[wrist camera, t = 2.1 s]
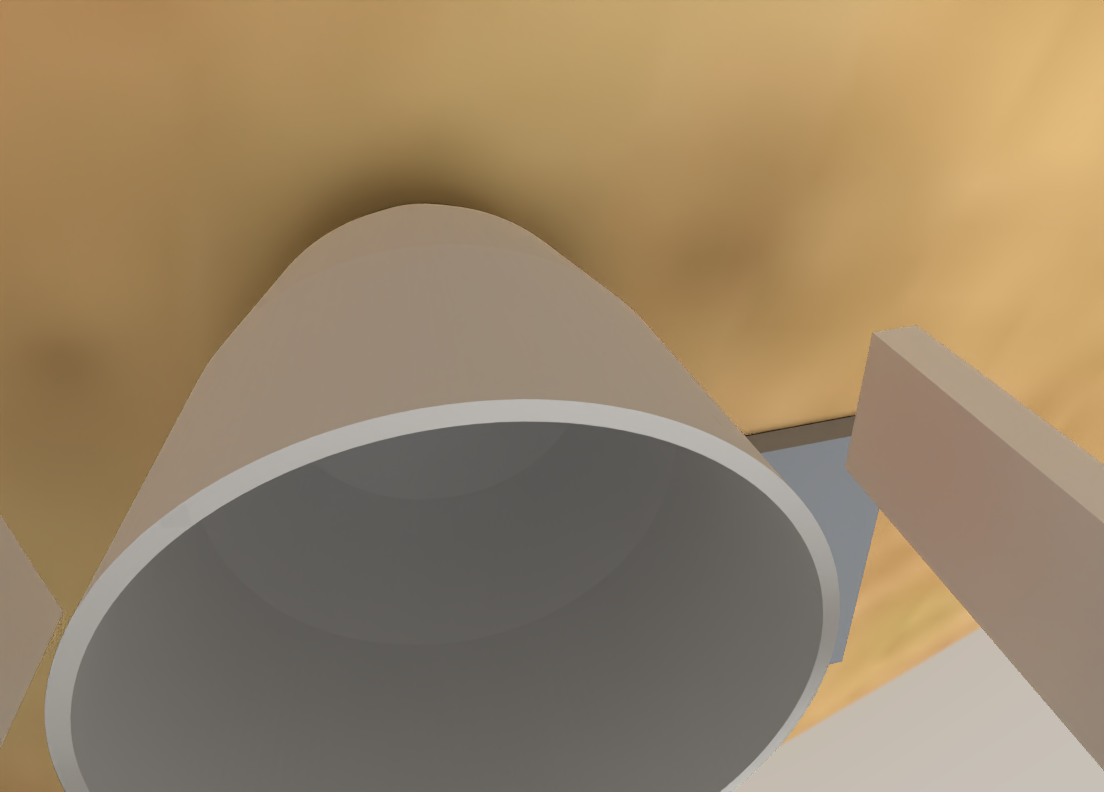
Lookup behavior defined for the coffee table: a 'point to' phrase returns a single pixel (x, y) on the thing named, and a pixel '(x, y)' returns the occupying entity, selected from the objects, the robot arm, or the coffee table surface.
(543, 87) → the coffee table surface
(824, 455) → the coaster
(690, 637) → the cup
